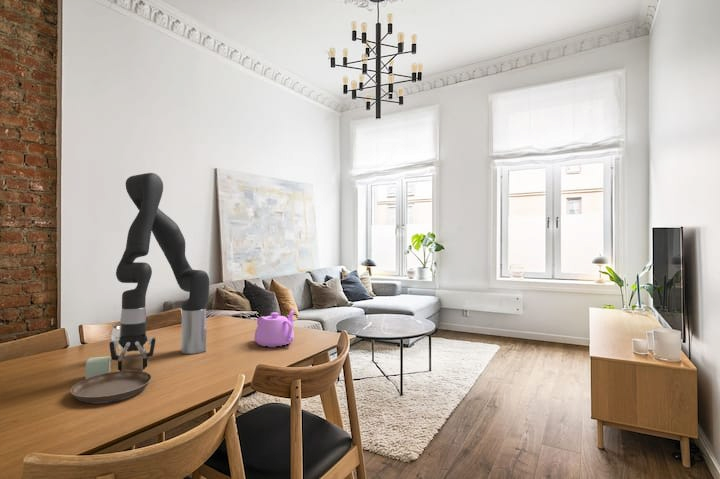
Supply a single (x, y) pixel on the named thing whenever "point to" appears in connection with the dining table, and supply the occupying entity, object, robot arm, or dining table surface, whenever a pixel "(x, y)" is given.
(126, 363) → the walnut block
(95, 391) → the plant saucer
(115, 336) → the wineglass
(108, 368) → the green block
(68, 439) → the dining table surface
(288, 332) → the teapot
